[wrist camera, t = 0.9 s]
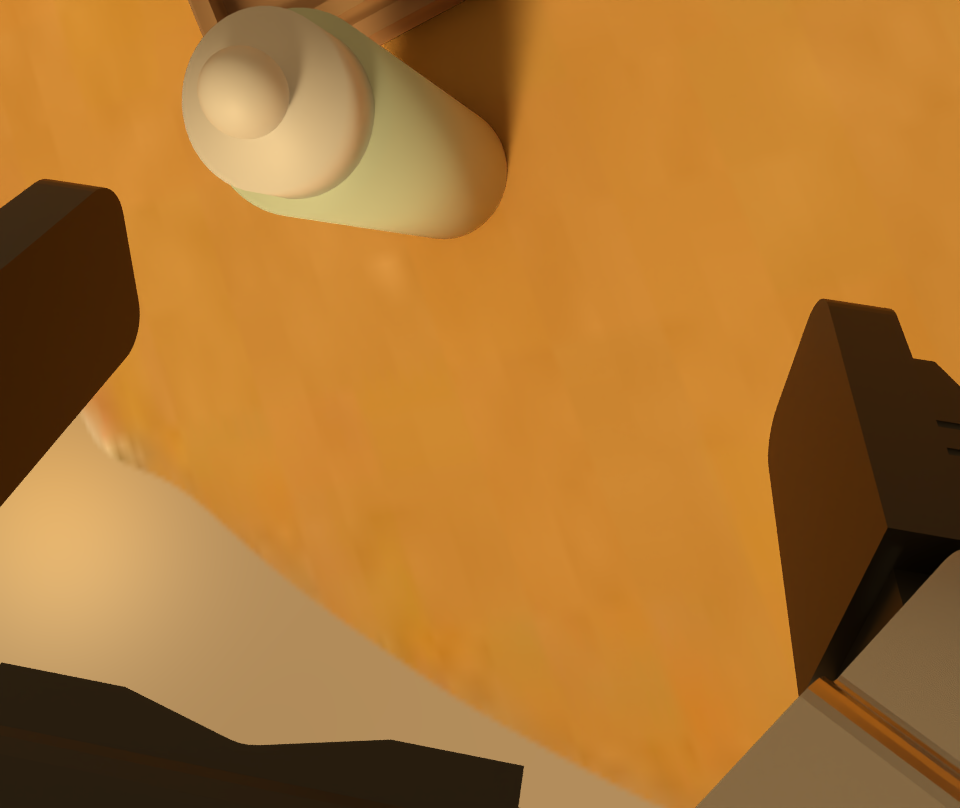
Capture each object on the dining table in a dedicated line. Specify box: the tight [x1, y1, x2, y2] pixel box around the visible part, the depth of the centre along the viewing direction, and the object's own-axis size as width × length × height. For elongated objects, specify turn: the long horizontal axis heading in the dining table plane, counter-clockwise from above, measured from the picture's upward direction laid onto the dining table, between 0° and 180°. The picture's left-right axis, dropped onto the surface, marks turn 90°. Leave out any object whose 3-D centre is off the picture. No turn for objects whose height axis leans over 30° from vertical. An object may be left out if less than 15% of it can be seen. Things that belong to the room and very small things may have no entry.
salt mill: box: [182, 6, 507, 239], centre depth 25 cm, size 5×5×15 cm
